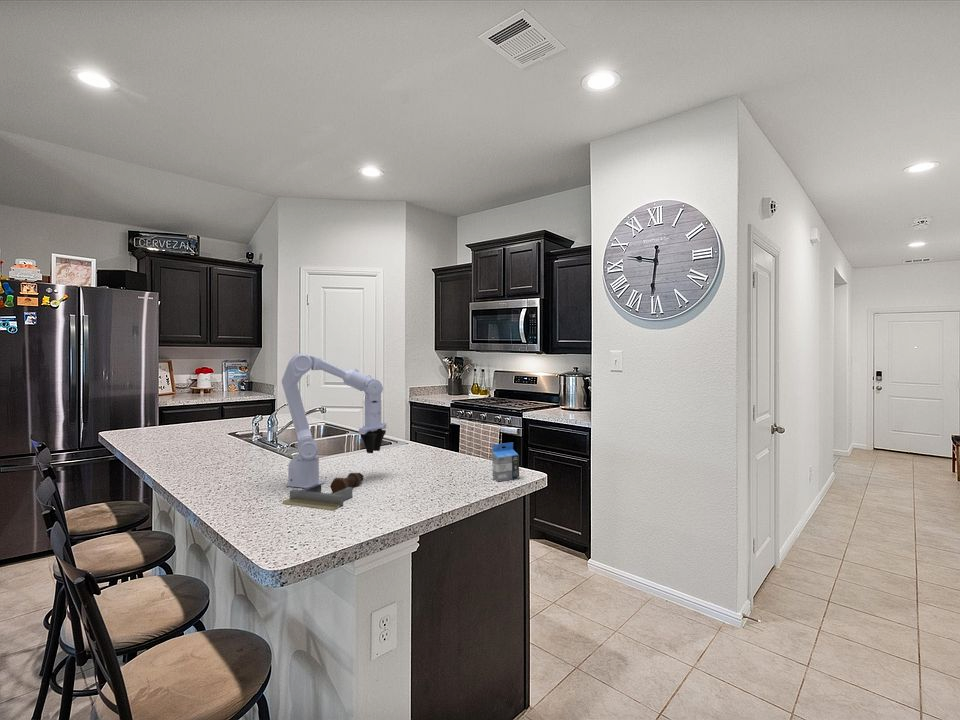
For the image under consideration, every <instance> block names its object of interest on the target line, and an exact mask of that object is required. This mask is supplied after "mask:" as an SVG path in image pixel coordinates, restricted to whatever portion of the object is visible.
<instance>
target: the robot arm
mask: <svg viewBox="0 0 960 720" xmlns="http://www.w3.org/2000/svg"><path fill="white" fill-rule="evenodd" d="M284 370H285V371H284V373H283V375H282V379H281V384H282V388H283V391H284V395H285V398H286V402H287V405H288V410H289V413H290V416H291V420H292V424H293V428H294V430H295V434H296V438H297V443H296V449H297V454H298V455H297V456H296V457H293V458H292V459H291V460H290V461H289V463H288V468H287V469H288V470H287V471H288V483H287V484H286V486H287V487H293V488H301V489H302V488H303V489H305V488H307V487H310V486H313V485H315V484H321V485H322V484H325V483H326V481H324V480H320V471H319V470H320V459H319V458H320V456H319V455H318V454H319V446H318V444H317V442H316V440H315V439H314V438H313V435H312V432H311V429H310V426H309V422H308V418H307V415H306V411H305V407H304V404H303V399H302V397H301V394H300V389H299V385H298V383H299V382H300V380H302V379H301V378H302V377H303V376H304V375H306V374H307V373H308V372H309V371H310V370H312V371H322V372H326V373H328V374H330V375H333V376H335V377H338V378H340V379H342V381H343V384H344V385H346V386H348V387H351V388H353V389H355V390H358V391H360V392H364V425H363V426H362V427H360V428H358V434H359V435H360V437H361V439H362V441H363V443H364V447H365V451H366V453H367V454H374V452H380V450H381V447H382V446H381V445H382V442H383V440H384V439H383V438H384V436H386V431H387V430H386V429H387V422H382V399H381V398H382V392H383V391H384V386H383V383H381V381H379V380H378V379H375V378H373V377H372V376H371V375H366V374H364V373H362V372H360V370H359V369H357V368H354V369H353V368H351V369H348V370H346V369H343V368H342V367H339V366H338V365H335V364H333V363H331V362H329V361H327V360H326V359H323V358H321V357H320V358H319V357H316V356H312V355H309V354H307V353H303V352H301V353H297V354H295V355H293V356H292V357H291V359H290V360H289V361H288V363H287V365H286V367H285V369H284Z"/></svg>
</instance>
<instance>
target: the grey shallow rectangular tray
mask: <svg viewBox="0 0 960 720" xmlns="http://www.w3.org/2000/svg"><path fill="white" fill-rule="evenodd" d="M352 498H353V487H352V486H351V487H347V488H345V489H342V490H340V491H338V492H335V493H333V492H332V493H326V492H322V484H315V485H313V486H310V487H307V488H303V489H302V488H301V489H291V490H289V498H287V499H283V500H282V501H281V502H282V504H283V505H289V506H298V507H299V506H300V507H305V508H313V509H321V510H329V511H335V510H338V509H340V508H342V507H344V502H345V501H347V500H349V499H352Z"/></svg>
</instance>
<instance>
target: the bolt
mask: <svg viewBox="0 0 960 720" xmlns="http://www.w3.org/2000/svg"><path fill="white" fill-rule="evenodd" d="M364 477H365V476H364V475H363V474H362V473H361V472H350V473H349V474H348V475H347V477H345V478H344V477H335V478H333V480H332V481H331V483H330V490H331V492H332V494H333V493H335V492H338V491H340V490H342V489H345V488H347V487H351V488H353V487H354V488H356V487H358V486H360V484H361V482H363V481H364Z"/></svg>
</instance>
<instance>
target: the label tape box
mask: <svg viewBox="0 0 960 720" xmlns="http://www.w3.org/2000/svg"><path fill="white" fill-rule="evenodd" d="M491 449H492V452H491V453H492V454H491V457H492V458H491V459H492V460H491V461H492V480H493V479H494V480H493V481H495V480H496V482H498V481H500V482H504V481H510V480H515V479H517V480H518V479H520V455H519V454H518V452H516V451H515V449H514V442H504V443H496V444H492V448H491Z"/></svg>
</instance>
